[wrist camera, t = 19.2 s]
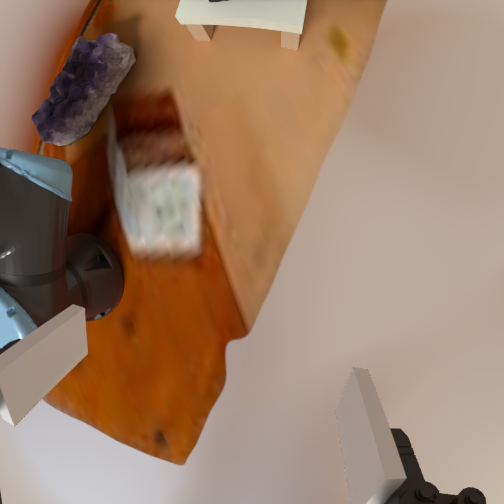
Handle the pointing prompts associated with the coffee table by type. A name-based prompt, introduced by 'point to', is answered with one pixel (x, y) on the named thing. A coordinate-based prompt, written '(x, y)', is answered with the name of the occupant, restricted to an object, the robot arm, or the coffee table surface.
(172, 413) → the coffee table surface
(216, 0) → the candle
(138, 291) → the coffee table surface
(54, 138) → the geode
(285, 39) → the footstool
